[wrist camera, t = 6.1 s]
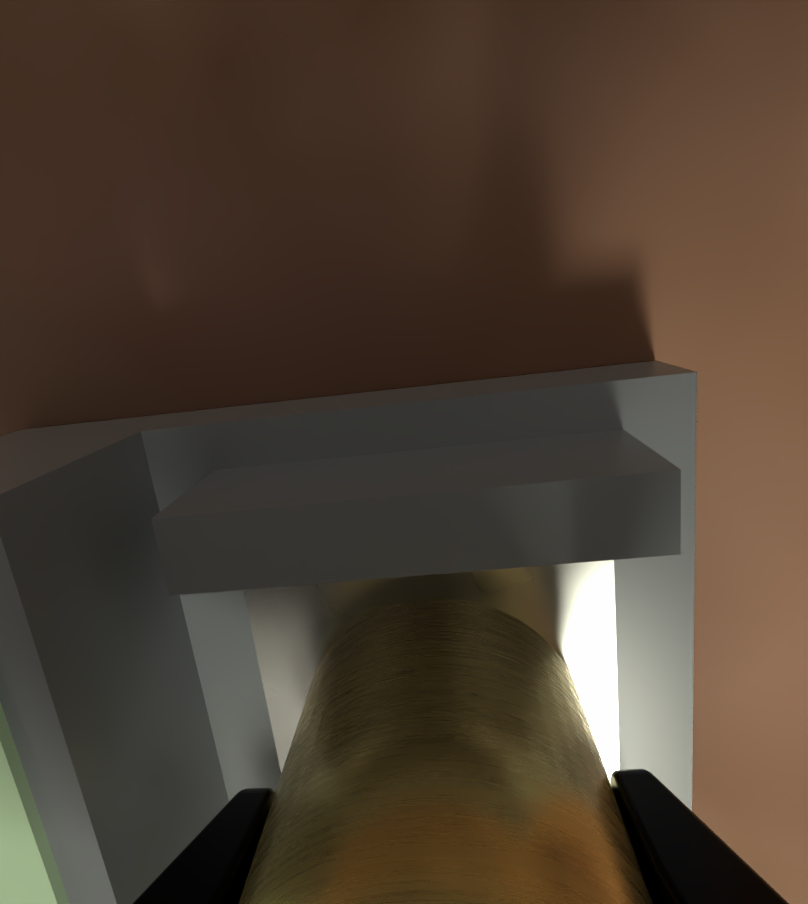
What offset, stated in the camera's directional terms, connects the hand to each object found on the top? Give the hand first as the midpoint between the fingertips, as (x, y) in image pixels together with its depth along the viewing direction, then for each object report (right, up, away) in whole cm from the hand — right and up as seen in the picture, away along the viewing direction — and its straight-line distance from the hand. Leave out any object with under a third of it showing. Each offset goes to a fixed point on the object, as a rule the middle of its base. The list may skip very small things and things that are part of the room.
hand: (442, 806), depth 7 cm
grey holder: (-1, +1, +4) cm, 4 cm away
